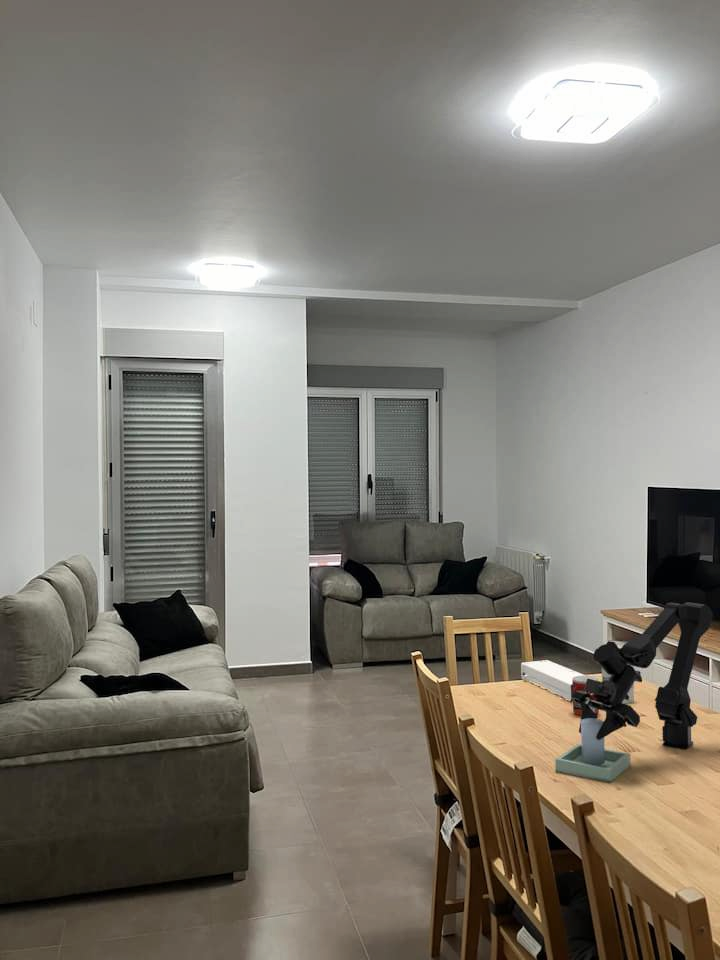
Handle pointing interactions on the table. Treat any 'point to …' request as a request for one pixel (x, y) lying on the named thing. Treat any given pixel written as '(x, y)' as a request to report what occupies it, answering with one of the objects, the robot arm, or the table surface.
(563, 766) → the tray
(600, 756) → the tall pale blue cylinder
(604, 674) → the supplement box
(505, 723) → the table surface
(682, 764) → the table surface
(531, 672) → the laminator
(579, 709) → the canned food
